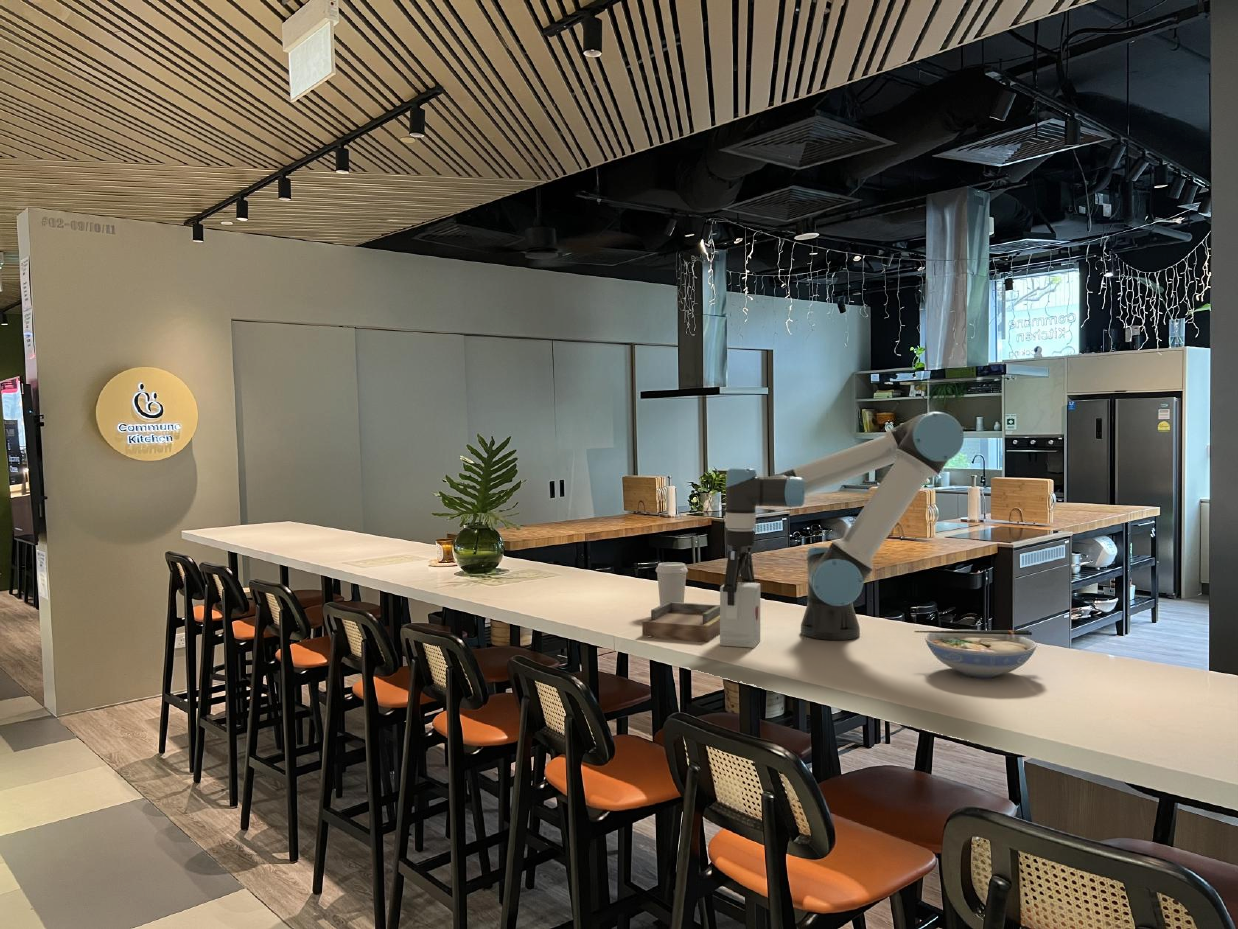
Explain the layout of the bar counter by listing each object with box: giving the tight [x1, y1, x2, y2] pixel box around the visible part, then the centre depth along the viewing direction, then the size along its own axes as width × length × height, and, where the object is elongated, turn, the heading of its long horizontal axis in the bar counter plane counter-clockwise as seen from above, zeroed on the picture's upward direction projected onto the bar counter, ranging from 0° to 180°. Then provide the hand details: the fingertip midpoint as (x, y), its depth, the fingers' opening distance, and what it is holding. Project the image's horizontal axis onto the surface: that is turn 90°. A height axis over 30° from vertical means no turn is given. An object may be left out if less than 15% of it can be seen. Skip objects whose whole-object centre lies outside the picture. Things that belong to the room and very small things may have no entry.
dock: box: [641, 602, 720, 643], centre depth 240 cm, size 18×18×6 cm
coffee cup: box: [655, 561, 689, 606], centre depth 265 cm, size 10×10×15 cm
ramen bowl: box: [914, 629, 1038, 679], centre depth 195 cm, size 25×23×8 cm
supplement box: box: [719, 581, 761, 649], centre depth 226 cm, size 9×9×15 cm
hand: (739, 613), depth 226 cm, fingers open, 13 cm apart
